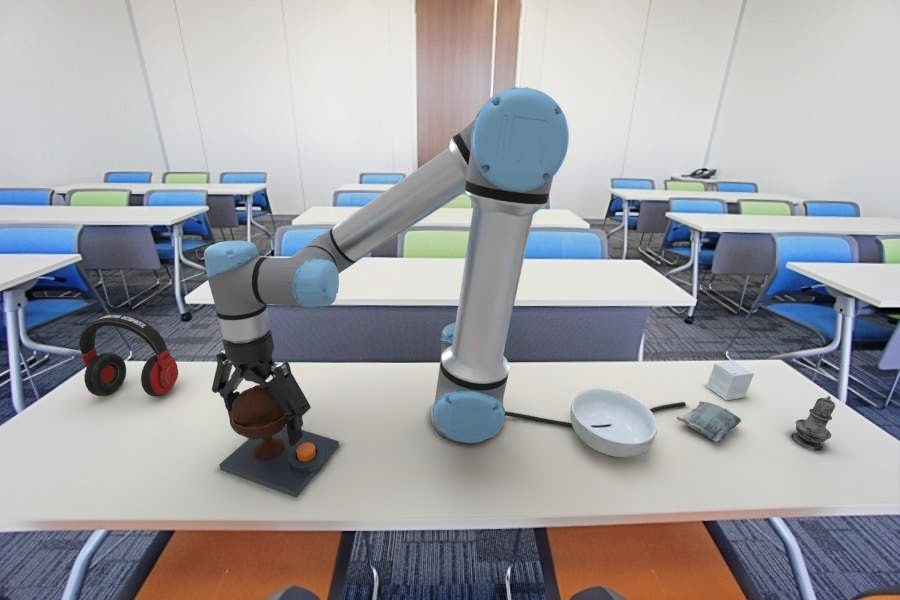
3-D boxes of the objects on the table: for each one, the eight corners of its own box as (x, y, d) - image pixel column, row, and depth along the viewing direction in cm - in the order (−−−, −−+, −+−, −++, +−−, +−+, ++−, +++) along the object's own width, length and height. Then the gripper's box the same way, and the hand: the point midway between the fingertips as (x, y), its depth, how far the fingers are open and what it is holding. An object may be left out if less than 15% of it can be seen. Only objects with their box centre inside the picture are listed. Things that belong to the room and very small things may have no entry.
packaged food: (673, 426, 89) (679, 408, 87) (698, 407, 95) (705, 390, 93) (715, 451, 82) (723, 432, 80) (739, 429, 89) (747, 411, 87)
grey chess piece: (824, 456, 82) (849, 409, 77) (788, 441, 85) (810, 396, 81) (824, 441, 86) (849, 396, 81) (790, 428, 89) (811, 384, 85)
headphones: (83, 405, 89) (50, 326, 81) (116, 379, 98) (89, 306, 90) (164, 405, 90) (139, 327, 82) (189, 380, 99) (169, 307, 91)
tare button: (319, 452, 75) (318, 445, 74) (308, 464, 72) (307, 457, 72) (305, 447, 76) (304, 440, 75) (293, 459, 73) (292, 452, 73)
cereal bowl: (557, 412, 92) (562, 386, 89) (628, 413, 92) (635, 388, 90) (580, 470, 76) (586, 441, 74) (665, 471, 77) (675, 443, 74)
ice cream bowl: (307, 431, 82) (299, 369, 76) (281, 474, 72) (268, 407, 66) (258, 426, 83) (246, 365, 77) (225, 468, 73) (208, 401, 67)
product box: (745, 398, 99) (755, 373, 96) (725, 401, 98) (735, 376, 95) (724, 383, 105) (733, 360, 102) (705, 386, 103) (713, 362, 100)
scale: (341, 447, 80) (340, 435, 79) (299, 498, 69) (297, 486, 68) (270, 425, 85) (268, 414, 84) (220, 470, 74) (217, 458, 73)
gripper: (323, 336, 67) (334, 435, 75) (209, 312, 74) (231, 404, 82) (293, 358, 60) (309, 463, 69) (171, 329, 67) (199, 428, 76)
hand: (266, 431), depth 76 cm, fingers open, 13 cm apart
